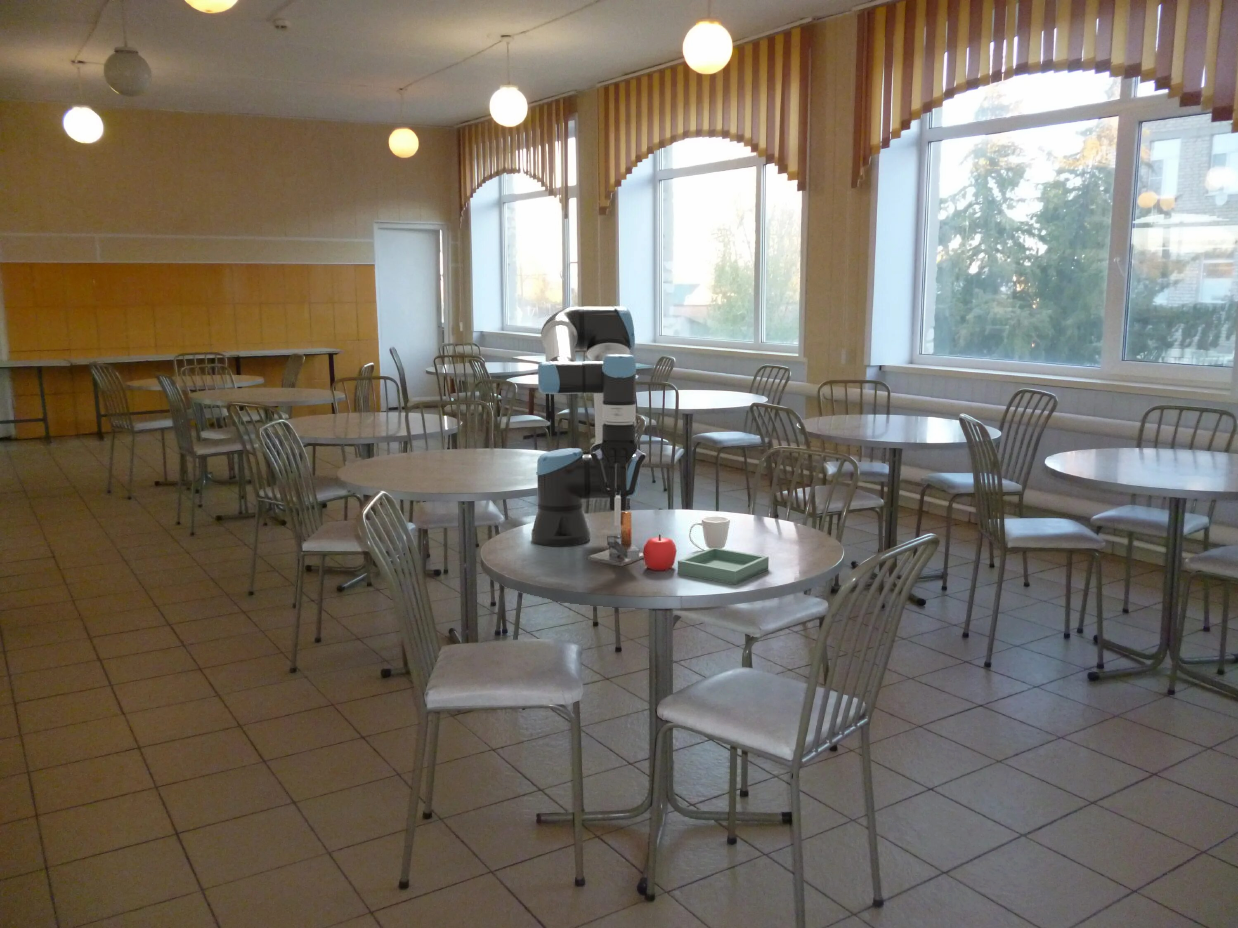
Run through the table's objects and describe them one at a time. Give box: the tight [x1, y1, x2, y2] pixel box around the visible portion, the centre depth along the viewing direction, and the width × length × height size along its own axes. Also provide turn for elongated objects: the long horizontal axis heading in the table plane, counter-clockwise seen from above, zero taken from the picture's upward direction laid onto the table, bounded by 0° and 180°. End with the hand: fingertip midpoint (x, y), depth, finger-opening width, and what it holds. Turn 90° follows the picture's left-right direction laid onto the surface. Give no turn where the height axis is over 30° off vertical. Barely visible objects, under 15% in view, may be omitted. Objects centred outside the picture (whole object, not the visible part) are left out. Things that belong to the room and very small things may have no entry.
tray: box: [677, 547, 770, 586], centre depth 229 cm, size 15×15×3 cm
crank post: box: [587, 546, 644, 567], centre depth 241 cm, size 10×10×3 cm
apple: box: [642, 534, 677, 572], centre depth 232 cm, size 8×8×8 cm
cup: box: [688, 515, 731, 551], centre depth 247 cm, size 7×10×8 cm
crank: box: [606, 510, 640, 559], centre depth 234 cm, size 16×5×10 cm, turn 15°
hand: (618, 524), depth 231 cm, fingers closed
